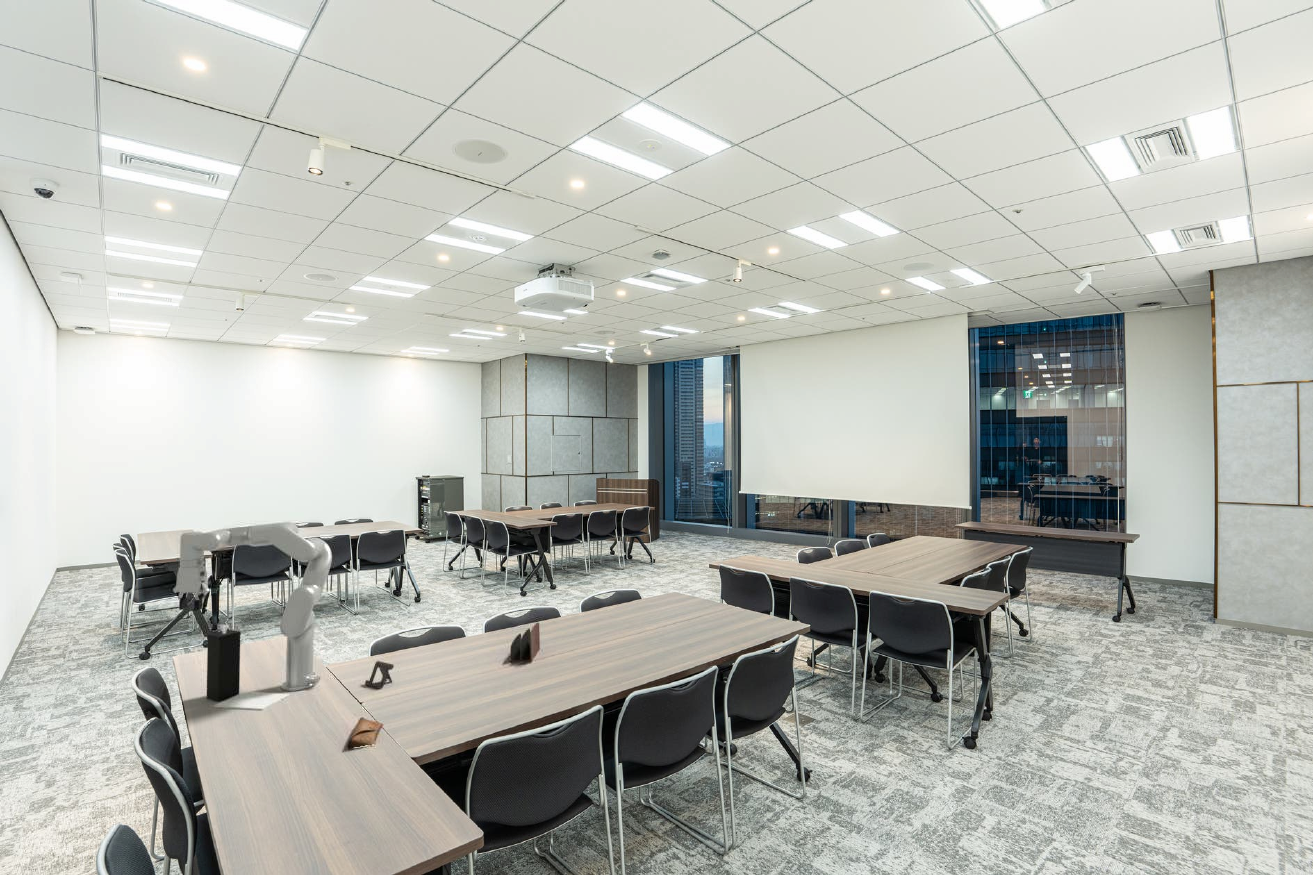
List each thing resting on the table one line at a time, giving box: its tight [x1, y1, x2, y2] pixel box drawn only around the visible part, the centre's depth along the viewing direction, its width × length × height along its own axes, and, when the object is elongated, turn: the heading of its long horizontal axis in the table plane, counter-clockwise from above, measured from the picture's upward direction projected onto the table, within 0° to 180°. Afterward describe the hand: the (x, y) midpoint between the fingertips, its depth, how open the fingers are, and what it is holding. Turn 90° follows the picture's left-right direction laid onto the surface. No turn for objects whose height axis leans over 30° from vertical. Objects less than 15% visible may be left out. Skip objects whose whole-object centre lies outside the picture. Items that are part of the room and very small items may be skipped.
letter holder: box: [509, 622, 541, 664], centre depth 289 cm, size 10×20×14 cm, turn 0°
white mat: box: [214, 691, 291, 711], centre depth 235 cm, size 20×14×1 cm
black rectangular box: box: [206, 624, 242, 703], centre depth 240 cm, size 8×8×28 cm
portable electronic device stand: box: [364, 660, 394, 690], centre depth 253 cm, size 9×8×8 cm
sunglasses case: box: [347, 716, 384, 750], centre depth 206 cm, size 18×7×7 cm, turn 16°
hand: (190, 608), depth 242 cm, fingers open, 5 cm apart
